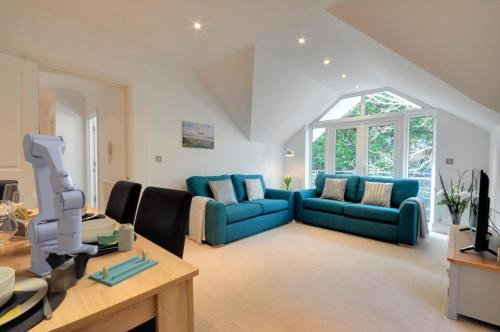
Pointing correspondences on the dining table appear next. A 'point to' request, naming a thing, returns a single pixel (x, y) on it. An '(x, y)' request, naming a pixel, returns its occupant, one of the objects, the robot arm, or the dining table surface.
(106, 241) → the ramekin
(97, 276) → the light blue peg board
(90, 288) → the dining table surface
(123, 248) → the candle
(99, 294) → the dining table surface
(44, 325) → the dining table surface
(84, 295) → the dining table surface
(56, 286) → the walnut frame
